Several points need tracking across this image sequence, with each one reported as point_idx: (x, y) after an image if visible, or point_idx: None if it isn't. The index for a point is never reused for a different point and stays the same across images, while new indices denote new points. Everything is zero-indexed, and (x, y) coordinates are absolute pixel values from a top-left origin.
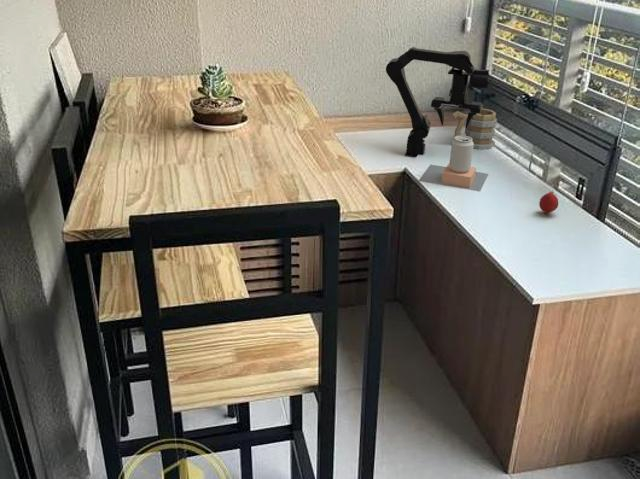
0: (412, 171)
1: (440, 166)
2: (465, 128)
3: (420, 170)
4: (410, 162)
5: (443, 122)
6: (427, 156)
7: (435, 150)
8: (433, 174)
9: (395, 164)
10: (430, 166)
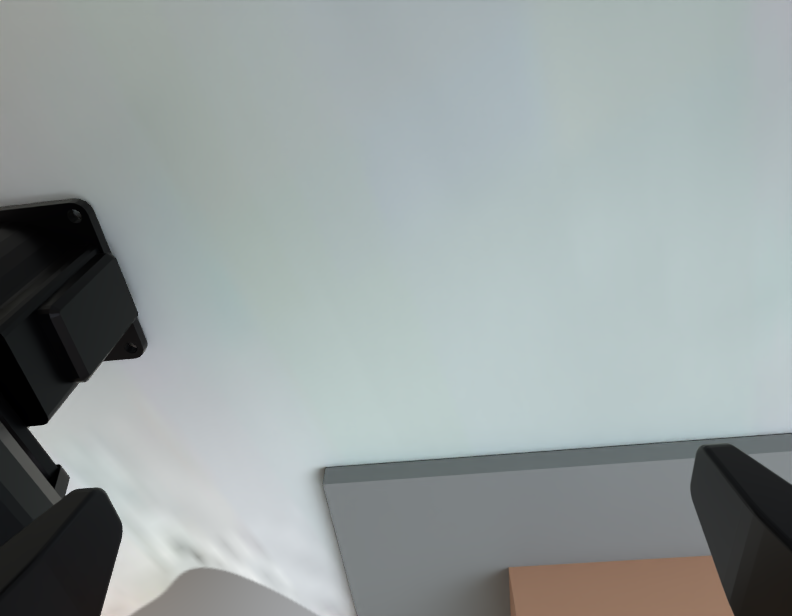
0: (260, 576)
1: (413, 485)
2: (692, 494)
3: (297, 544)
4: (146, 458)
5: (73, 537)
6: (173, 263)
7: (125, 8)
8: (423, 610)
9: None
10: (343, 517)
